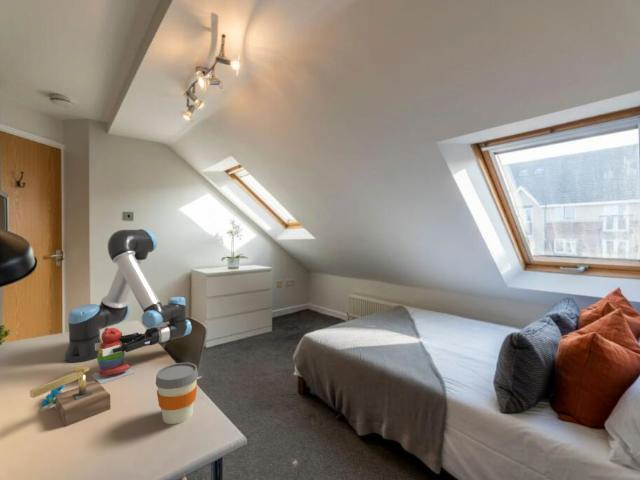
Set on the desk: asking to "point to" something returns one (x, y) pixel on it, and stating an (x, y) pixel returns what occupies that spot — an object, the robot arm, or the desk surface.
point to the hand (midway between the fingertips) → (98, 350)
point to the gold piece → (64, 382)
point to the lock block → (82, 403)
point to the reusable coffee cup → (177, 391)
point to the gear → (52, 396)
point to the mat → (110, 376)
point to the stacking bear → (113, 361)
